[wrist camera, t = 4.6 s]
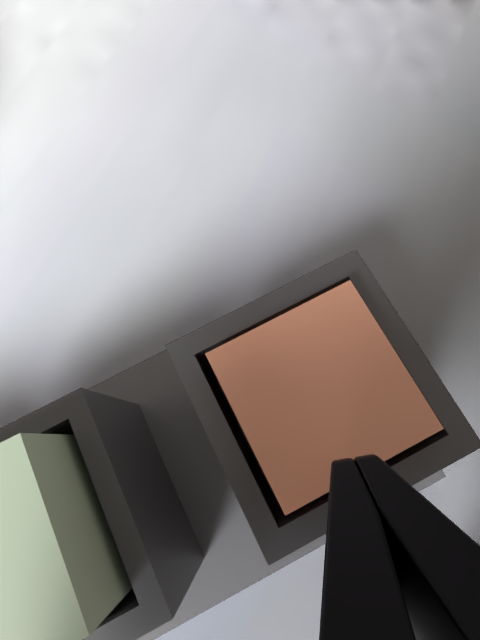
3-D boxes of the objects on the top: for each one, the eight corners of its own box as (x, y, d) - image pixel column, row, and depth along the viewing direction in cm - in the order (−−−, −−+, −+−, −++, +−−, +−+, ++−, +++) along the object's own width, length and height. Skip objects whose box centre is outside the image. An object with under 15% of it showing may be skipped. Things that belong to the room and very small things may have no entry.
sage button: (154, 563, 13) (89, 635, 8) (25, 633, 13) (-121, 750, 8) (103, 435, 14) (19, 432, 9) (-16, 497, 14) (-166, 527, 9)
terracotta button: (385, 432, 15) (444, 428, 10) (278, 491, 14) (285, 516, 10) (324, 328, 16) (350, 279, 11) (223, 380, 16) (205, 353, 11)
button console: (435, 474, 16) (539, 494, 10) (-167, 809, 15) (-486, 1083, 8) (318, 280, 19) (344, 201, 13) (-212, 548, 17) (-487, 609, 11)
